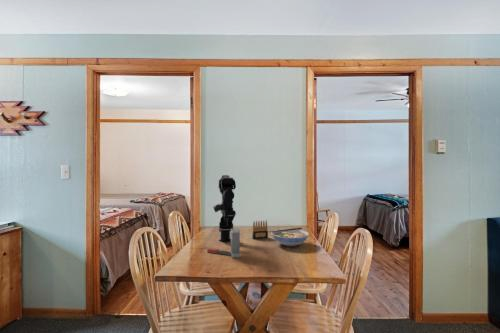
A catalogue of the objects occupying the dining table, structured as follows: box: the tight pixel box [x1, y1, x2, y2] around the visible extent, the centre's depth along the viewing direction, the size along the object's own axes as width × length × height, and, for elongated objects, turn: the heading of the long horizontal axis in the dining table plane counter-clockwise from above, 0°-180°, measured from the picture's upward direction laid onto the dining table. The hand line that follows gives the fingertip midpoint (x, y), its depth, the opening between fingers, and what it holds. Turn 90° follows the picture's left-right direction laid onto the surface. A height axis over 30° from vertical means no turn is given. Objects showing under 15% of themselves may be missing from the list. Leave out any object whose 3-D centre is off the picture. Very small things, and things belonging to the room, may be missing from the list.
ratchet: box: [207, 247, 241, 259], centre depth 145 cm, size 7×20×5 cm, turn 71°
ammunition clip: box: [251, 219, 269, 240], centre depth 180 cm, size 11×2×12 cm, turn 108°
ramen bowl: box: [269, 227, 310, 248], centre depth 164 cm, size 25×23×8 cm
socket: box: [230, 228, 241, 254], centre depth 142 cm, size 4×4×12 cm
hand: (227, 225), depth 158 cm, fingers open, 9 cm apart
